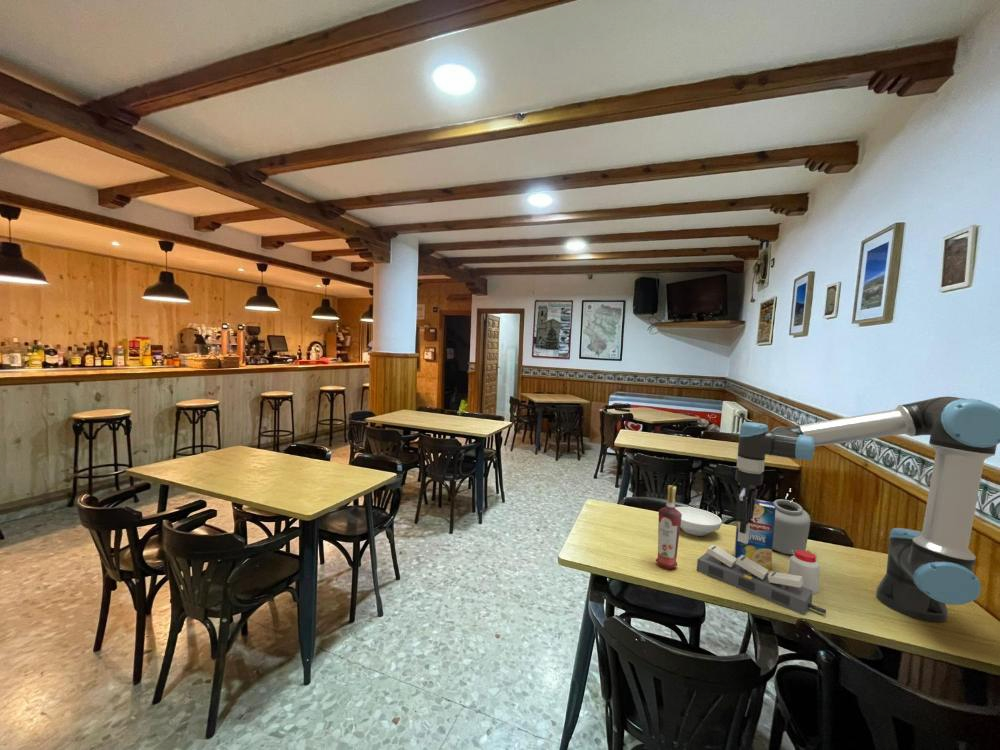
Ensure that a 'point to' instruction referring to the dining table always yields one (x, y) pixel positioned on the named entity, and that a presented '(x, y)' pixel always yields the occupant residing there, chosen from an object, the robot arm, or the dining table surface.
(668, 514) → the liquor
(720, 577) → the rocker switch panel
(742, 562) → the rocker
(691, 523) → the bowl
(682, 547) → the dining table surface
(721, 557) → the rocker
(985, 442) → the robot arm
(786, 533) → the jar
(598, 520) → the dining table surface
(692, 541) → the dining table surface
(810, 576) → the pill bottle
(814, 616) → the dining table surface
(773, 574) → the block
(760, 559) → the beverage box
